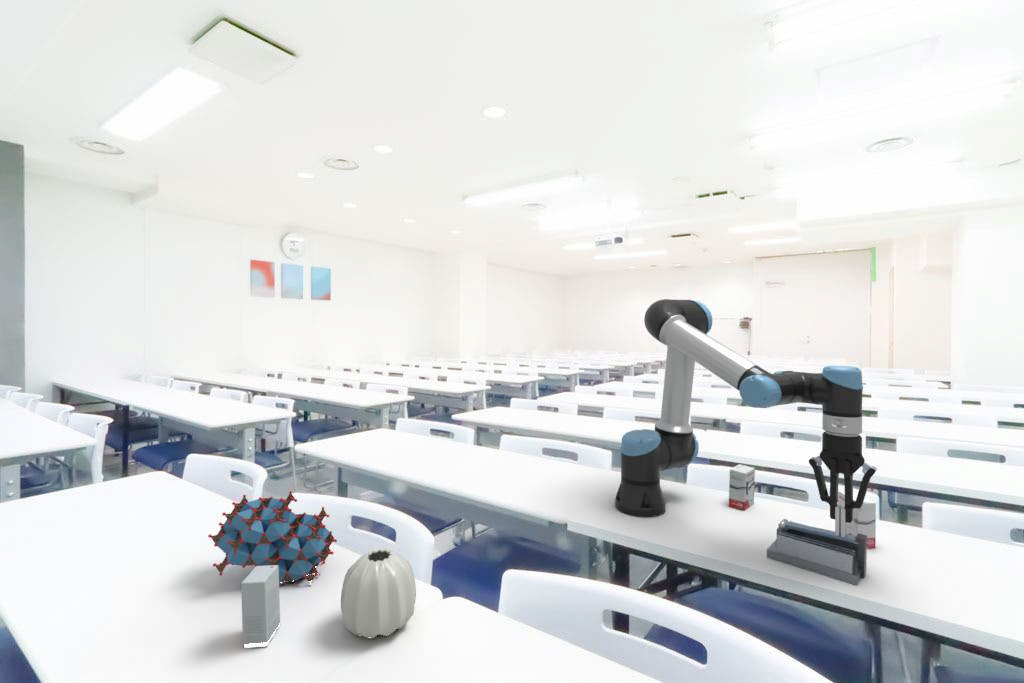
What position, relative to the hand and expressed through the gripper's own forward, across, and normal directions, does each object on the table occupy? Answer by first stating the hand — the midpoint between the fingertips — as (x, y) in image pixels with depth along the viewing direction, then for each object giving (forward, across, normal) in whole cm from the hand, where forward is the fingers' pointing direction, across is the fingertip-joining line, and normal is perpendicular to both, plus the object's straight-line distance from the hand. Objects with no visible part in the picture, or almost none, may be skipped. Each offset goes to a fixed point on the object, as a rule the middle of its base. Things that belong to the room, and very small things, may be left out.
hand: (841, 534), depth 109 cm
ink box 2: (+8, 0, +20) cm, 22 cm away
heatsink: (+8, -5, 0) cm, 10 cm away
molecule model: (+7, -92, -92) cm, 130 cm away
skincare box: (+8, -71, -102) cm, 124 cm away
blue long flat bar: (+1, -5, 0) cm, 5 cm away
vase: (+8, -59, -85) cm, 104 cm away
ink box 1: (+8, -30, +25) cm, 40 cm away
